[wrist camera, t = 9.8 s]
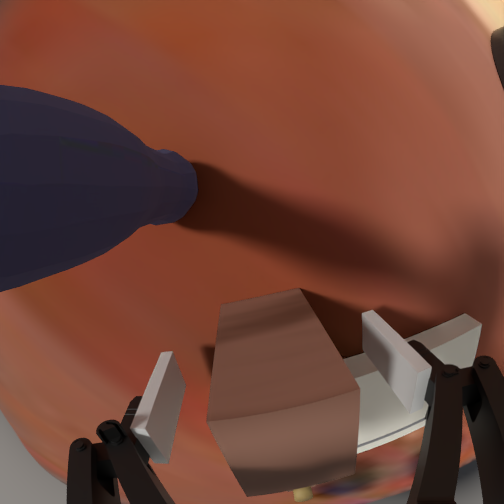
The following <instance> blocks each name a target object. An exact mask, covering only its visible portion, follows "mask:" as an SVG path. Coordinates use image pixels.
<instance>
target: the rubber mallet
mask: <svg viewBox="0 0 504 504" xmlns="http://www.w3.org/2000/svg"><path fill="white" fill-rule="evenodd" d="M197 193H198V184H197V175H196V171H195V170H194V168H193V166H192V164H191V163H190V162H188V161H187V160H186V159H184V158H183V157H182V156H180V155H179V154H178V153H176V152H174V151H169V150H165V149H161V150H154V149H152V148H150V147H148V146H146V145H145V144H144V143H143V142H142V141H141V140H140V139H139V138H138V137H137V136H135V135H134V134H132V133H131V132H130V131H128V130H127V129H126V128H124V127H123V126H121V125H120V124H119V123H117V122H116V121H114V120H113V119H111V118H110V117H108V116H107V115H105V114H102V113H100V112H98V111H96V110H94V109H92V108H90V107H87V106H85V105H82V104H79V103H76V102H74V101H71V100H67V99H64V98H61V97H57V96H54V95H50V94H46V93H43V92H39V91H35V90H31V89H27V88H21V87H13V86H5V85H0V292H2V291H5V290H9V289H13V288H16V287H20V286H23V285H25V284H28V283H31V282H34V281H36V280H39V279H42V278H45V277H48V276H50V275H53V274H56V273H59V272H62V271H65V270H68V269H70V268H73V267H75V266H78V265H80V264H83V263H85V262H87V261H89V260H91V259H94V258H96V257H98V256H100V255H102V254H104V253H106V252H107V251H109V250H110V249H112V248H113V247H115V246H116V245H118V244H119V243H121V242H122V241H124V240H125V239H126V238H128V237H129V236H131V235H132V234H133V233H134V232H135V231H136V230H137V229H138V228H139V227H142V226H145V225H148V224H153V225H160V224H166V223H172V222H175V221H177V220H179V219H180V218H182V217H183V216H184V215H185V214H186V213H187V211H188V210H189V209H190V207H191V206H192V205H193V203H194V202H195V200H196V197H197Z"/></svg>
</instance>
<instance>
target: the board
mask: <svg viewBox="0 0 504 504" xmlns="http://www.w3.org/2000/svg"><path fill="white" fill-rule="evenodd" d="M481 328H482V324H481V323H480V322H478V321H477V320H475V319H474V318H472V317H470V316H469V315H467V314H466V313H464V314H462V315H460V316H458V317H456V318H454V319H451V320H449V321H447V322H445V323H443V324H440V325H438V326H436V327H433V328H431V329H428V330H426V331H423V332H421V333H418V334H416V335H413V336H411V337H408V338H406V339H404V340H405V341H406V342H409V341H411V340H416V341H418V342H421V343H422V344H423V345H424V346H425V347H426V348H427V349H429V350H430V352H432V353H433V354H434V355H435V356H436V357H437V358H438V359H439V360H440V361H442V362H443V363H444V364H453V365H456V366H458V367H459V368H460V369H462V368H466V367H470V366H472V365H473V362H474V359H475V355H476V351H477V347H478V342H479V338H480V333H481ZM343 360H344V362H345V364H346V365H347V367H348V369H349V370H350V372H351V374H352V375H353V377H354V379H355V380H356V382H357V384H358V385H359V387H360V416H359V433H358V446H357V454H358V453H361V452H364V451H366V450H369V449H372V448H375V447H377V446H380V445H383V444H385V443H388V442H390V441H392V440H395V439H397V438H399V437H402V436H404V435H406V434H408V433H411V432H413V431H415V430H417V429H419V428H421V427H423V426H425V422H426V419H425V416H426V412H427V409H428V404H427V402H426V401H424V404H423V408H422V409H420V410H418V411H416V412H414V413H411V414H409V412H408V411H407V410H406V408H405V407H404V405H403V404H402V403H401V401H400V400H399V398H398V397H397V396H396V394H395V393H394V391H393V390H392V389H391V387H390V386H389V385H388V383H387V382H386V380H385V379H384V378H383V376H382V375H381V374H380V372H379V371H378V370H377V368H376V367H375V366H374V364H373V363H372V361H371V360H370V359H369V357H368V356H367V355H366V353H362V354H359V355H355V356H352V357H349V358H345V359H343Z"/></svg>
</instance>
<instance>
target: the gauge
mask: <svg viewBox="0 0 504 504" xmlns="http://www.w3.org/2000/svg"><path fill="white" fill-rule="evenodd" d="M359 416H360V387H359V385H358V384H357V382H356V380H355V379H354V377H353V375H352V374H351V372H350V370H349V369H348V367H347V365H346V364H345V362H344V360H343V359H342V357H341V355H340V354H339V352H338V350H337V349H336V347H335V345H334V344H333V342H332V340H331V339H330V337H329V335H328V334H327V332H326V331H325V329H324V327H323V326H322V324H321V322H320V321H319V319H318V318H317V316H316V314H315V313H314V311H313V309H312V308H311V306H310V305H309V303H308V301H307V300H306V298H305V297H304V295H303V293H302V292H301V290H300V289H299V288H296V289H292V290H287V291H283V292H278V293H274V294H269V295H265V296H260V297H255V298H251V299H246V300H241V301H236V302H231V303H226V304H221V308H220V315H219V322H218V330H217V338H216V345H215V353H214V361H213V369H212V377H211V386H210V394H209V403H208V412H207V421H206V422H207V424H208V426H209V428H210V430H211V432H212V434H213V436H214V438H215V440H216V442H217V444H218V446H219V448H220V450H221V452H222V454H223V455H224V457H225V459H226V461H227V463H228V465H229V466H230V468H231V470H232V472H233V474H234V475H235V477H236V479H237V481H238V482H239V484H240V486H241V487H242V489H243V491H244V492H245V494H246V496H247V497H249V496H258V495H265V494H272V493H278V492H284V491H288V492H290V491H293V493H294V499H295V501H297V502H303V501H307V500H310V499H311V498H313V494H312V490H311V487H313V486H316V485H317V484H321V483H325V482H328V481H332V480H335V479H339V478H342V477H345V476H348V475H352V474H355V467H356V457H357V446H358V433H359Z"/></svg>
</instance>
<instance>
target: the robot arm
mask: <svg viewBox="0 0 504 504" xmlns="http://www.w3.org/2000/svg"><path fill="white" fill-rule="evenodd" d="M491 47H492V52H493V57H494V61H495V64H496V67H497V70H498V73H499V76H500V79H501V81H502V84H503V87H504V27H501V28H499V29H497V30H495V31H494V32H493V33H492V36H491ZM362 339H363V351H364V352H365V353H366V355H367V356H368V357H369V359H370V360H371V361H372V363H373V364H374V366H375V367H376V368H377V370H378V371H379V372H380V374H381V375H382V376H383V378H384V379H385V380H386V382H387V383H388V385H389V386H390V387H391V389H392V390H393V391H394V393H395V394H396V396H397V397H398V398H399V400H400V401H401V403H402V404H403V405H404V407H405V408H406V410H407V411H408V412H409V414H411V413H414V412H416V411H418V410H420V409H422V408H423V404H424V401H426V402H427V404H428V409H427V412H426V416H425V419H426V422H425V429H424V435H423V441H422V446H421V451H420V456H419V460H418V465H417V469H416V473H415V477H414V481H413V484H412V488H411V491H410V495H409V498H408V501H407V504H456V502H455V501H454V495H455V490H456V484H457V478H458V471H459V463H460V453H461V441H462V413H463V409H464V413H465V416H466V420H467V423H468V427H469V430H470V434H471V438H472V442H473V446H474V451H475V455H476V460H477V465H478V470H479V476H480V482H481V489H482V497H483V504H504V377H503V375H502V373H501V371H500V370H499V368H498V366H497V364H496V362H495V361H494V360H493V358H491V357H489V356H479V357H477V358H476V359H475V360H474V362H473V365H472V366H470V367H466V368H462V369H460V368H459V367H458V366H456V365H453V364H444V363H443V362H442V361H440V360H439V359H438V358H437V357H436V356H435V355H434V354H433V353H432V352H430V350H429V349H427V348H426V347H425V346H424V345H423V344H422V343H421V342H418V341H416V340H411V341H409V342H406V341H405V340H404V339H403V338H402V337H401V336H400V335H399V334H398V333H397V332H396V331H395V330H394V329H393V328H391V327H390V326H389V325H388V324H387V323H386V322H385V321H384V320H383V319H382V318H381V317H380V316H379V315H378V314H377V313H376V312H374V311H373V310H371V311H367V312H364V313H362ZM185 388H186V384H185V381H184V379H183V376H182V374H181V371H180V369H179V366H178V364H177V361H176V359H175V356H174V353H173V351H170V352H162V353H161V354H160V357H159V359H158V361H157V364H156V366H155V368H154V371H153V373H152V375H151V378H150V380H149V383H148V385H147V387H146V390H145V392H144V395H143V396H136V397H135V398H134V399H133V400H132V401H131V402H130V404H129V406H128V408H127V410H126V413H125V415H124V417H123V419H122V422H121V424H120V423H119V422H118V421H116V420H107V421H104V422H103V423H101V424H100V425H99V426H98V428H97V430H96V434H97V435H98V436H99V438H100V439H101V440H102V443H96V444H92V443H91V441H90V440H89V439H87V438H79V439H76V440H75V441H73V443H72V444H71V446H70V450H69V461H68V476H67V504H121V502H120V495H119V488H118V480H117V478H118V479H119V481H120V483H121V486H122V488H123V490H124V492H125V494H126V496H127V498H128V500H129V502H130V504H175V503H174V501H173V500H172V498H171V497H170V495H169V494H168V492H167V491H166V490H165V488H164V486H163V485H162V483H161V482H160V480H159V479H158V477H157V476H156V474H155V472H154V471H153V469H152V467H151V466H150V465H149V463H148V461H149V458H151V459H152V460H153V462H154V463H169V460H170V455H171V450H172V445H173V441H174V436H175V431H176V427H177V422H178V418H179V414H180V409H181V405H182V400H183V396H184V392H185Z"/></svg>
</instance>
